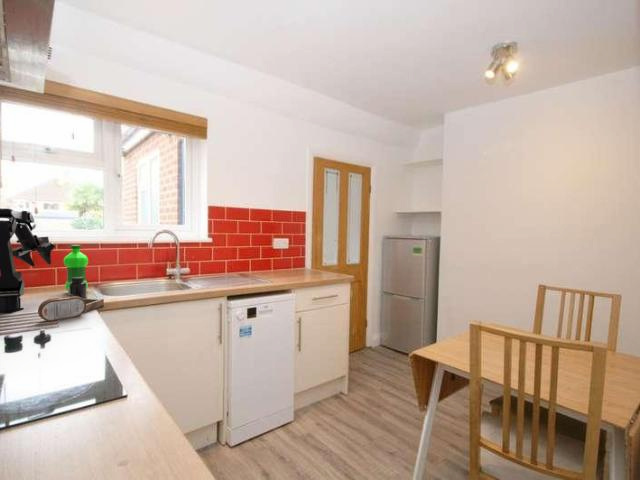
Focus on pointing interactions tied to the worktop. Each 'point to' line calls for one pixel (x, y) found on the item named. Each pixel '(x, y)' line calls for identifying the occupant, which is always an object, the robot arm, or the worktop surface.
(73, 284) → the supplement bottle
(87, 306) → the keeper collar
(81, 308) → the tin
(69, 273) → the plastic bottle
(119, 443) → the worktop surface
